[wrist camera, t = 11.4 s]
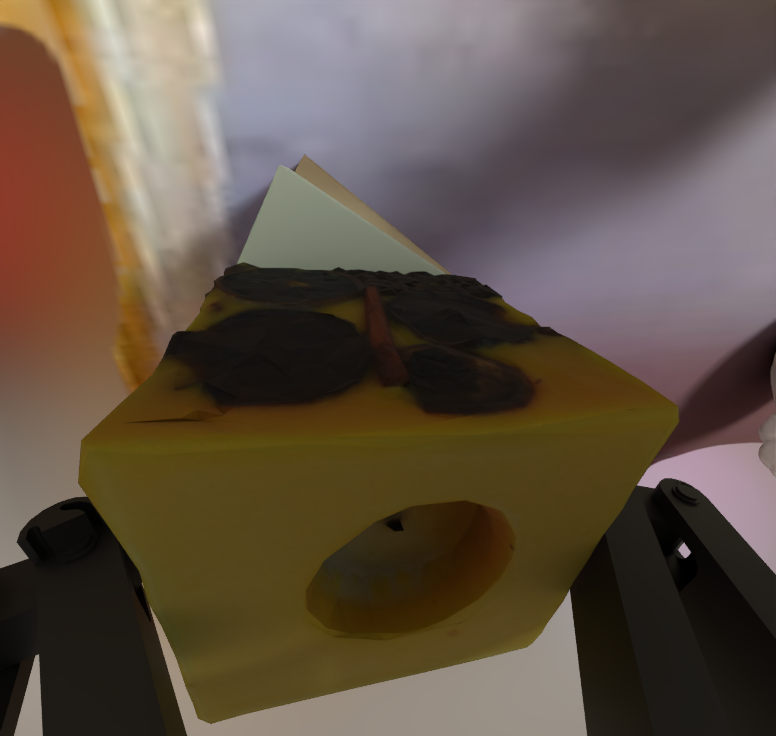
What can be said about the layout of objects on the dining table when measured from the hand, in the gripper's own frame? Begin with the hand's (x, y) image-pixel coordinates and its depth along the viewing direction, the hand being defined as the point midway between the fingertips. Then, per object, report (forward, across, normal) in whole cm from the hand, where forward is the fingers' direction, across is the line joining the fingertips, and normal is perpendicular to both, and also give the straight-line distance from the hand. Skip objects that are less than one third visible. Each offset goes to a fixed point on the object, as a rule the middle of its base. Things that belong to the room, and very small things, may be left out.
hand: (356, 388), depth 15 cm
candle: (+2, 0, 0) cm, 2 cm away
